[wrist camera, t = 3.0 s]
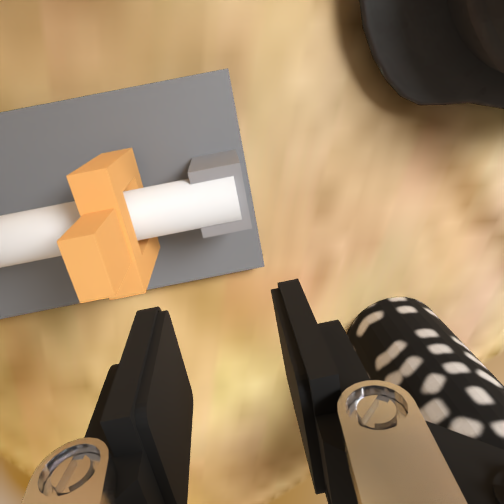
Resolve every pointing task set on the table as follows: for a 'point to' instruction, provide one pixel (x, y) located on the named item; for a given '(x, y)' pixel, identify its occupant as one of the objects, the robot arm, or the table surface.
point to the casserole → (439, 49)
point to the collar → (106, 231)
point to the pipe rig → (138, 200)
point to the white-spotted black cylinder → (430, 367)
